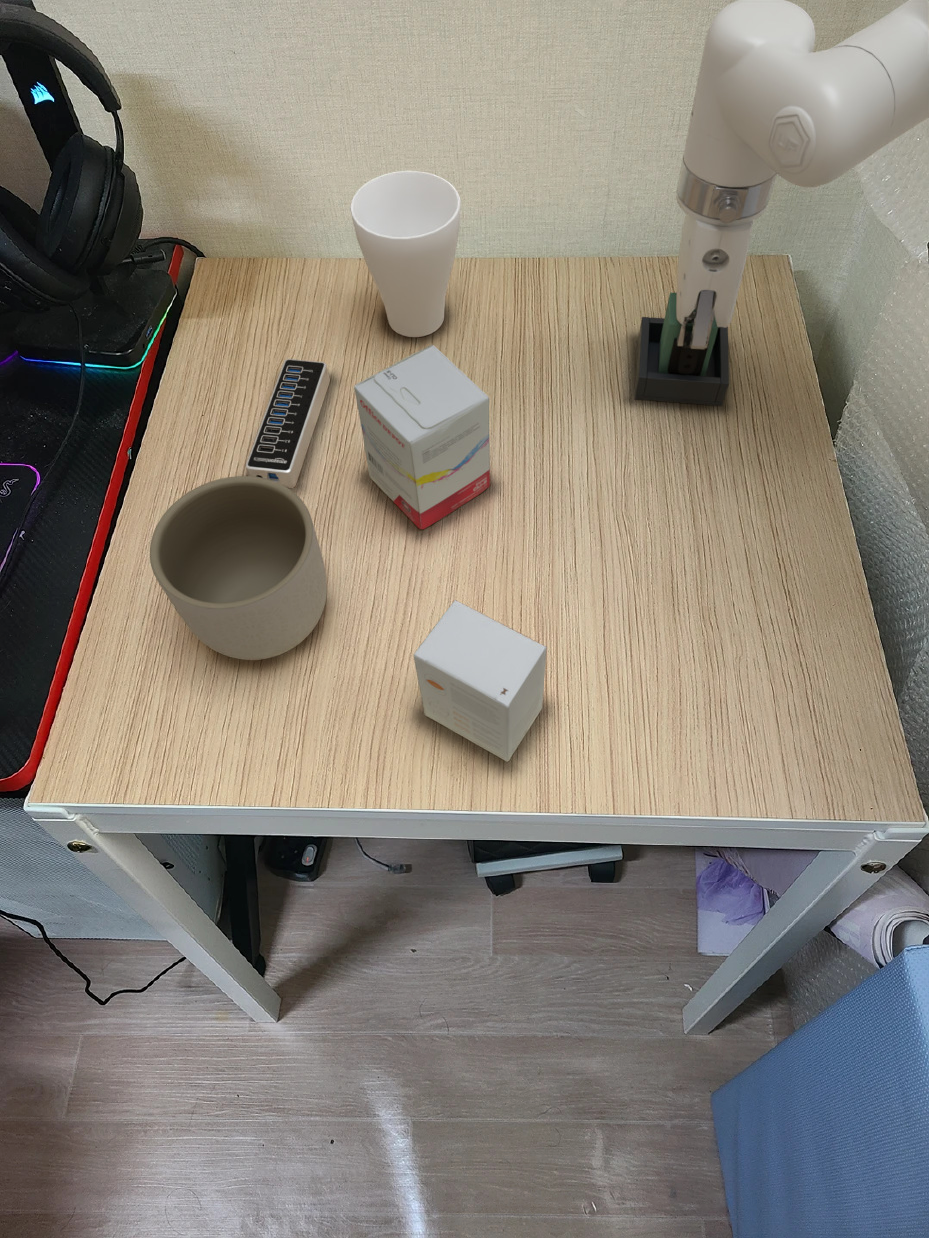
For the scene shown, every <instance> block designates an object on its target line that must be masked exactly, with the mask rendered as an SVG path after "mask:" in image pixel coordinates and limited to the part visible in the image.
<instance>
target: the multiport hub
mask: <svg viewBox="0 0 929 1238" xmlns="http://www.w3.org/2000/svg"><path fill="white" fill-rule="evenodd" d="M330 383H331V379H330V375H329V371H328V366H327V363H326V362H324V361H315V360H304V359H295V358H294V359H293V358H286V359H284V361H283V363H282V366H281V368H280V371H279V374H278V377H277V379H276V382H275V385H274V387H273V390H272V393H271V395H270V398H269V401H268V403H267V406H266V409H265V412H264V414H263V417H262V420H261V423H260V425H259V428H258V431H257V432H256V436H255V438H254V441H253V444H252V447H251V449H250V451H249V455H248V457H247V460H246V463H245V469H246V471H247V474H248V476H254V477H261V478H265V479H269V480H272V481H275V482H278V483H280V484H282V485H284V486H286V487H287V488H289V489H292V488H295V487H296V486H297V483H298V480H299V477H300V474H301V471H302V469H303V466H304V462H305V460H306V456H307V453H308V450H309V447H310V444H311V441H312V438H313V435H314V431H315V430H316V429H315V428H316V425H317V422H318V420H319V417H320V413H321V410H322V407H323V404H324V402H325V398H326V395H327V393H328V389H329V386H330Z"/></svg>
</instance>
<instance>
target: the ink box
mask: <svg viewBox="0 0 929 1238" xmlns="http://www.w3.org/2000/svg"><path fill="white" fill-rule="evenodd" d="M353 388H354V395H355V399H356V404H357V406H356V407H357V410H358V411H357V412H358V416H359V422H360V427H361V432H362V440H363V445H364V452H365V458H366V464H367V470H368V476H369V478H370V479H371V481H373V482H374V483H375V485H377V487H378V488H379V489H380V490H381V491H382V492H383V493H384V494H385V495H386V496H387V497H388V498H389V499H391V501H392V503H394V504H395V505H396V506H397V507H398V509H400V510H401V511H402V512H403V513H404V514H405V516H406V517H407V518H408V519H409V520H410V521H411V522H412V523H413V524H414V525H415V526H416V527H417V528H418V529H419V530H425V529H427V528H428V527H430V526H432V525H434V524H436V523H437V522H439V521H440V520H442V519H443V518H445V517H447V516H448V515H450V514H451V513H453V512H454V511H456V510H457V509H460V507H463V506H464V505H465V504H467V503H468V502H470V501H471V500H473V499H475V498H476V497H478V496H479V495H481V494H482V493H483V492H484V491H486V490H487V489H489V488H490V487H491V458H490V455H491V453H490V451H491V450H490V448H491V447H490V397H489V395H487V394H486V393H485V392H484V390H482V389H481V388H480V387H479V386H478V385H477V384H476V383H475V382H473V380H472V379H470V378H469V376H467V375H466V374H465V373H464V372H463V371H462V370H461V369H460V368H459V367H457V366H456V365H455V364H454V363H453V362H452V360H450V359H449V358H448V357H447V356H446V355H445V354H444V353H442V351H440V350H439V348H437V347H436V345H434V344H431V345H429V346H427V347H424V348H422V349H420V350H418V351H416V352H414V353H412V354H410V355H408V356H406V357H404V358H402V359H400V360H399V361H397V362H394V363H393V364H391V365H390V366H388V367H386V368H384V369H382V370H380V371H378V372H377V373H375V374H372V375H370V376H369V377H367V378H365V379H363V380H362V381H360V382H358V383H355V384H354V386H353Z"/></svg>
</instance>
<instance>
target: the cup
mask: <svg viewBox="0 0 929 1238" xmlns="http://www.w3.org/2000/svg"><path fill="white" fill-rule="evenodd" d="M461 207H462V200H461V197H460V194H459V191H458V190H457V189H456V188H455V186H454V185H453V184H452V183H451V182H449V181H448V180H446V179H445V178H443V177H441V176H439V175H437V174H434V173H431V172H426V171H420V170H399V171H393V172H388V173H385V174H381V175H378V176H376V177H374V178H372V179H370V180H368V181H367V182H365V183H364V184H363V185H362V186H361V187H359V188H358V189H357V190H356V191H355V194H354V195H353V196H352V198H351V201H350V206H349V210H350V215H351V219H352V224H353V228H354V232H355V236H356V240H357V243H358V246H359V249H360V251H361V253H362V256H363V259H364V261H365V262H364V263H365V264H366V266H367V269H368V271H369V273H370V275H371V277H372V279H373V282H374V283H375V285H376V288H377V290H378V293H379V295H380V298H381V300H382V303H383V306H384V309H385V313H386V317H387V320H388V321H387V322H388V325H389V327H390V328H391V330H393V331H394V332H395V333H397V334H399V335H401V336H403V337H407V338H419V337H420V338H421V337H425V336H428V335H431V334H433V333H434V332H436V331H438V329H440V328H441V326H442V325H443V322H444V320H445V306H446V296H447V290H448V287H449V286H448V285H449V281H450V276H451V273H452V269H453V266H454V263H455V257H456V252H457V246H458V245H457V244H458V241H459V233H460V226H461V209H462V208H461Z"/></svg>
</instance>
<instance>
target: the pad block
mask: <svg viewBox="0 0 929 1238" xmlns="http://www.w3.org/2000/svg"><path fill="white" fill-rule="evenodd" d="M676 302H677V292H669V295H668V300H667V303H666V308H665V309H666V310H665V314H664V318H665V319H664V324H663V328H662V333H661V338H660V350H659V373H668V364H669V359H670V355H671V351H672V346H673V342H674V338H678V333H679V328H680V323H679V321H678V320H677V316H676ZM693 312H696V310H693ZM693 325H694V323H688V324H687V329H686V333H687V332H692V331H693ZM717 330H718V327H717V324H716V320H715V316H714V320H713V324H712V328H711V333H710V337H709V345H708V349H707V353H706V357H705V360H704V364H703V368H702V371H701V374H700V375H699V376H705V373H706V370H707V366H708V363H709V359H710V355H711V352H712V348H713V345H714V341H715V337H716V334H717Z"/></svg>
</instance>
